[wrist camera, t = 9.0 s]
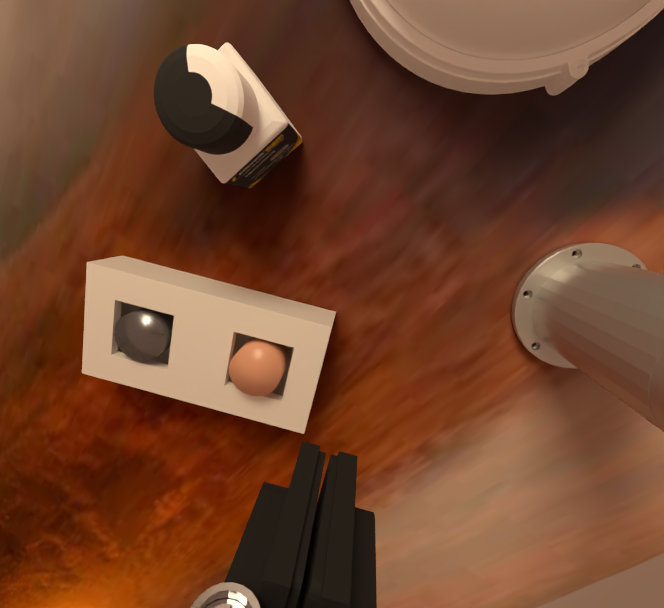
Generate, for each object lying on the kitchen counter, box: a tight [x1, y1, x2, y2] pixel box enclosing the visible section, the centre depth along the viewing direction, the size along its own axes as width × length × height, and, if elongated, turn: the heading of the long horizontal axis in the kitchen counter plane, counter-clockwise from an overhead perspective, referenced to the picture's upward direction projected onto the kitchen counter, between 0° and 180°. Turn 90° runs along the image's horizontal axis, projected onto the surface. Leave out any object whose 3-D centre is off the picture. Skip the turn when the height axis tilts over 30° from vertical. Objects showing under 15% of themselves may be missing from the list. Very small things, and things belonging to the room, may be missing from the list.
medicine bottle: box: [154, 43, 303, 188], centre depth 27 cm, size 7×7×12 cm
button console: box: [82, 256, 336, 434], centre depth 36 cm, size 24×12×5 cm, turn 76°
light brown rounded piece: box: [229, 337, 289, 396], centre depth 35 cm, size 5×5×4 cm
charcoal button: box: [114, 307, 174, 361], centre depth 36 cm, size 5×5×4 cm
